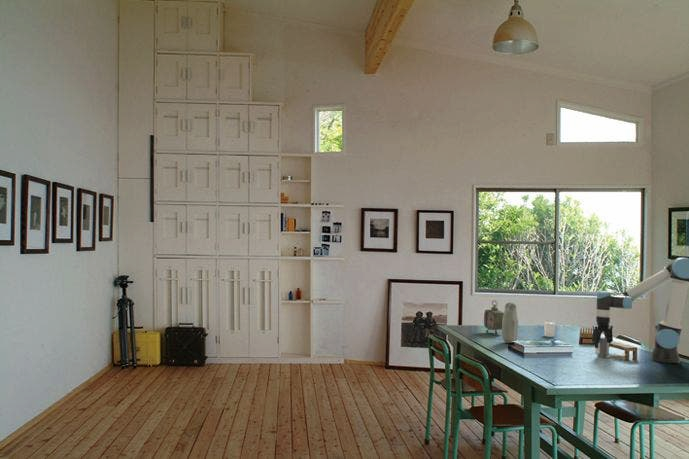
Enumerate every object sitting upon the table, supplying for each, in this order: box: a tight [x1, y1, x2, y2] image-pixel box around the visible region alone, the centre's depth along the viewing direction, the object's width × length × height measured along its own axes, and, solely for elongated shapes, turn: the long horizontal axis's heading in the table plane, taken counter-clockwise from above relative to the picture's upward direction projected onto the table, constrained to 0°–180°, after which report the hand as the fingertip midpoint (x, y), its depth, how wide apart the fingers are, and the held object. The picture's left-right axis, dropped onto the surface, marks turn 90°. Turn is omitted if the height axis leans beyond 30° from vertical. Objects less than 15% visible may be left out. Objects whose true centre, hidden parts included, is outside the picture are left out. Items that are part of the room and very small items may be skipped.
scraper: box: [597, 336, 625, 359], centre depth 324 cm, size 18×6×12 cm, turn 108°
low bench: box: [609, 340, 638, 362], centre depth 325 cm, size 24×8×8 cm, turn 18°
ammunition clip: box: [578, 326, 595, 346], centre depth 360 cm, size 11×2×12 cm, turn 87°
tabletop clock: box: [483, 300, 504, 336], centre depth 390 cm, size 14×9×25 cm, turn 17°
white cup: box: [543, 321, 557, 338], centre depth 387 cm, size 8×8×10 cm
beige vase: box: [501, 302, 519, 344], centre depth 355 cm, size 10×10×28 cm
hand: (602, 353), depth 322 cm, fingers open, 7 cm apart
